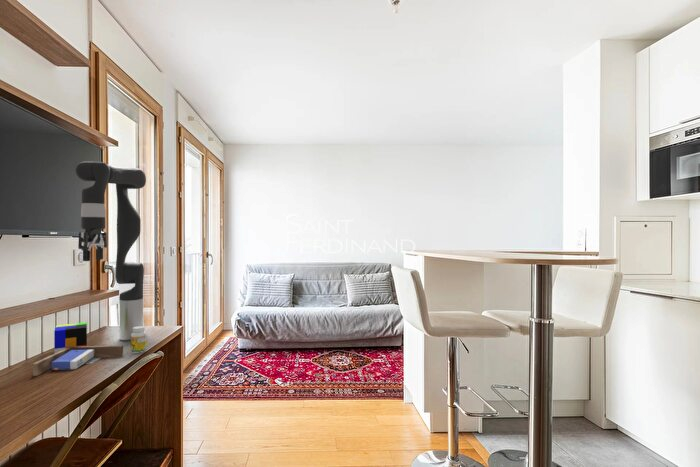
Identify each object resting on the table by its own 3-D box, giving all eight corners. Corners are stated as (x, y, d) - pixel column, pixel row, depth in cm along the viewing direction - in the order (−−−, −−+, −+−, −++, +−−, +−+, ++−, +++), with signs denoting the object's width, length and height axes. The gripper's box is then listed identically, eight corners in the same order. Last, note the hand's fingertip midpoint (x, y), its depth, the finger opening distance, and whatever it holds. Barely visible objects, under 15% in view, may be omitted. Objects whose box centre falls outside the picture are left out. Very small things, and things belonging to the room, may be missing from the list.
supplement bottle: (148, 352, 155) (148, 327, 155) (133, 355, 151) (133, 329, 151) (143, 349, 158) (143, 325, 158) (128, 352, 154) (128, 327, 154)
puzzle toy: (54, 357, 147) (54, 330, 147) (56, 351, 156) (56, 325, 156) (86, 353, 153) (86, 327, 153) (86, 347, 161) (86, 322, 161)
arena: (69, 357, 148) (69, 346, 148) (123, 356, 149) (123, 345, 149) (33, 375, 129) (33, 363, 129) (94, 374, 130) (94, 362, 130)
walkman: (71, 357, 146) (51, 370, 134) (71, 349, 145) (50, 362, 134) (94, 356, 146) (76, 369, 135) (94, 349, 146) (75, 361, 134)
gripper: (93, 215, 139) (93, 261, 140) (113, 217, 154) (113, 259, 154) (70, 215, 139) (70, 261, 139) (93, 216, 153) (93, 259, 153)
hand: (93, 260), depth 146 cm, fingers open, 8 cm apart
